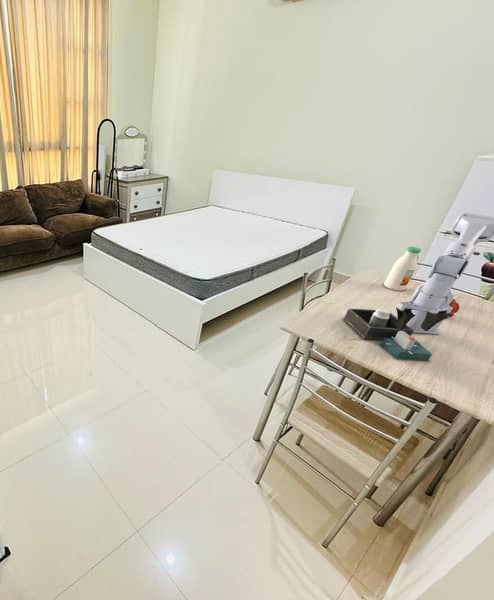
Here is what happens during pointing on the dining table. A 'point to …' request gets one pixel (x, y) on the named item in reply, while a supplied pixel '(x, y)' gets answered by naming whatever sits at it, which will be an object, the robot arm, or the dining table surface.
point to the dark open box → (360, 324)
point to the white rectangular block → (404, 340)
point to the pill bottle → (379, 317)
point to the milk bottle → (403, 270)
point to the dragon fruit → (454, 306)
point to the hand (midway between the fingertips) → (411, 328)
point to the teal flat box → (399, 353)
